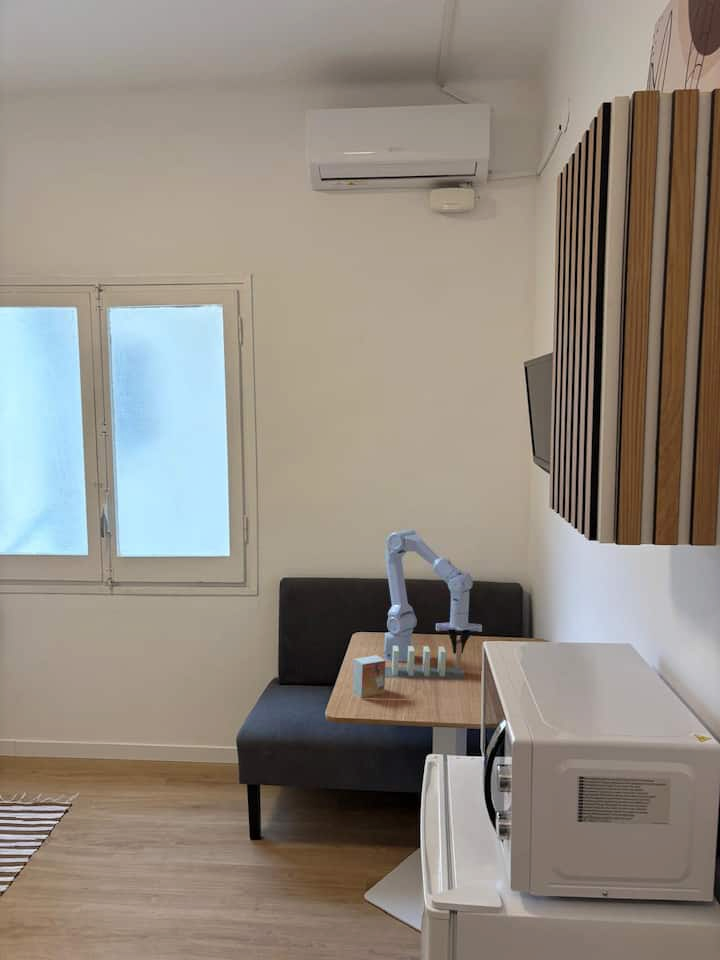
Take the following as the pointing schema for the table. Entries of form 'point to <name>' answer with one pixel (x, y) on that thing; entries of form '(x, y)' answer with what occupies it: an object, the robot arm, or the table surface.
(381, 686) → the small box
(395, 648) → the domino
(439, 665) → the domino
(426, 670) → the domino
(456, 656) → the terracotta domino
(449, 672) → the mat
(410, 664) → the domino
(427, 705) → the table surface
